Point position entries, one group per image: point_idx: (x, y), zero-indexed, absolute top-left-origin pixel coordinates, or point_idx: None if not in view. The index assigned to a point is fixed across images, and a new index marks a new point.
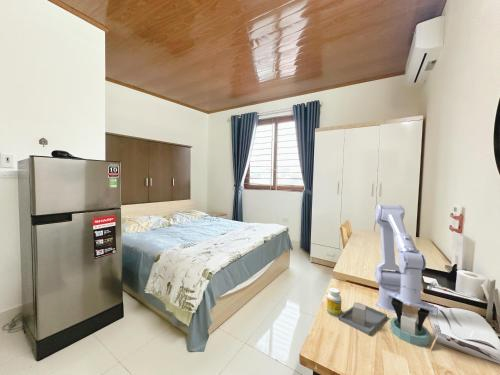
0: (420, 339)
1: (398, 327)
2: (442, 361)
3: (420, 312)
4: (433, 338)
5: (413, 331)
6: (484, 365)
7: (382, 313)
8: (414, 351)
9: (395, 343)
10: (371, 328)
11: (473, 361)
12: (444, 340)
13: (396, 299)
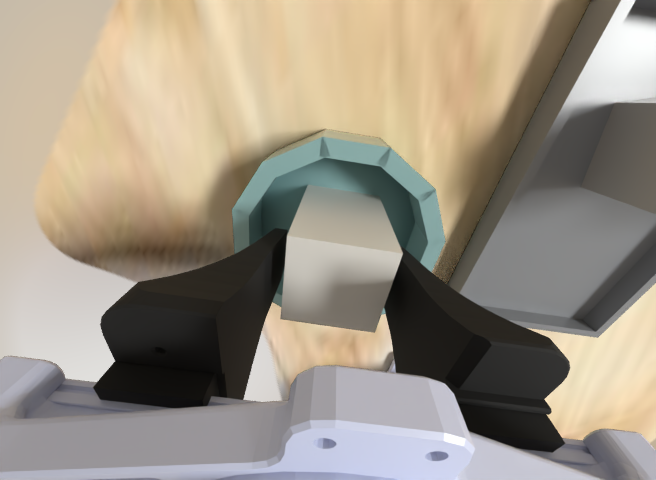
0: (266, 159)
1: None
2: (166, 90)
3: (178, 316)
4: None
5: (309, 203)
6: (61, 213)
7: None
8: (296, 67)
9: (404, 66)
10: (592, 68)
11: (94, 211)
12: None
13: (508, 442)
